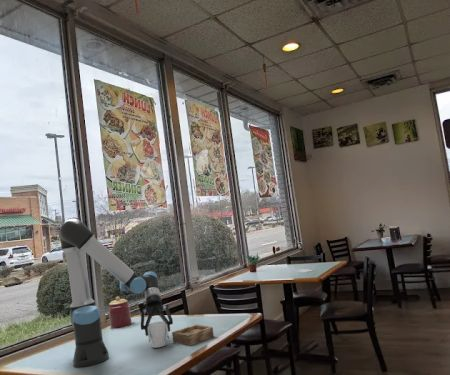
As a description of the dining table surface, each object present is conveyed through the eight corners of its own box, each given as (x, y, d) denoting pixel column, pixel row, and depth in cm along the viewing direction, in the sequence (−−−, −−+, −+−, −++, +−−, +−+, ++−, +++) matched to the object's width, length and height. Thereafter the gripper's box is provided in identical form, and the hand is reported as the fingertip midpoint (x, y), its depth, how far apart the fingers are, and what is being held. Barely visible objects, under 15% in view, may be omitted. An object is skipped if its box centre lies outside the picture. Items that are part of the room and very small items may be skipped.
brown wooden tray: (189, 345, 182) (187, 335, 183) (173, 341, 193) (172, 332, 194) (213, 336, 191) (212, 327, 192) (197, 333, 202) (196, 324, 202)
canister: (108, 326, 253) (105, 297, 255) (129, 321, 259) (126, 293, 260) (112, 329, 241) (108, 299, 243) (133, 324, 247) (130, 295, 249)
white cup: (169, 342, 192) (167, 320, 193) (165, 347, 185) (162, 324, 186) (153, 343, 193) (151, 322, 194) (148, 349, 185) (146, 326, 186)
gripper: (131, 297, 198) (135, 339, 181) (173, 290, 203) (181, 330, 186) (132, 306, 203) (136, 348, 186) (173, 299, 208) (181, 339, 191)
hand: (159, 339), depth 186 cm, fingers closed on white cup, 8 cm apart
